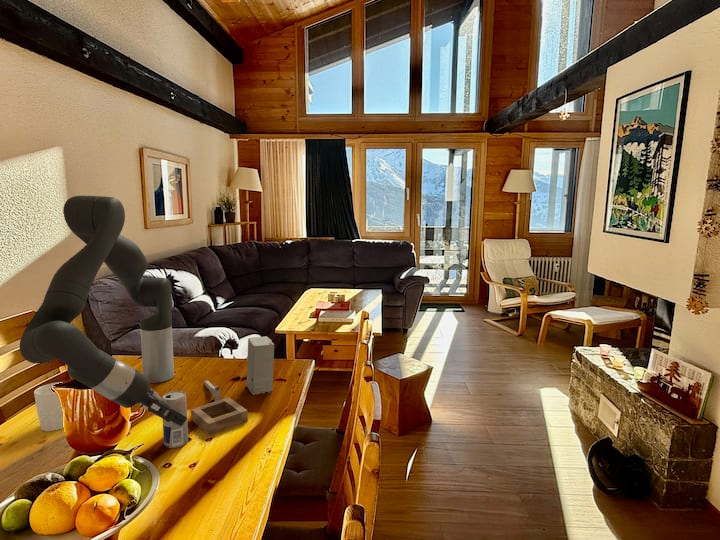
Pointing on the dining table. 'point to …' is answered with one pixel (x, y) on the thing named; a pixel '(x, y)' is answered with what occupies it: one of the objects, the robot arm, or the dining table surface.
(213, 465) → the dining table surface
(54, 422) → the white cup
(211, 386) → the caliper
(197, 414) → the square open tray
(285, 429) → the dining table surface
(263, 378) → the skincare box
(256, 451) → the dining table surface
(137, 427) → the dining table surface
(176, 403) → the energy drink
